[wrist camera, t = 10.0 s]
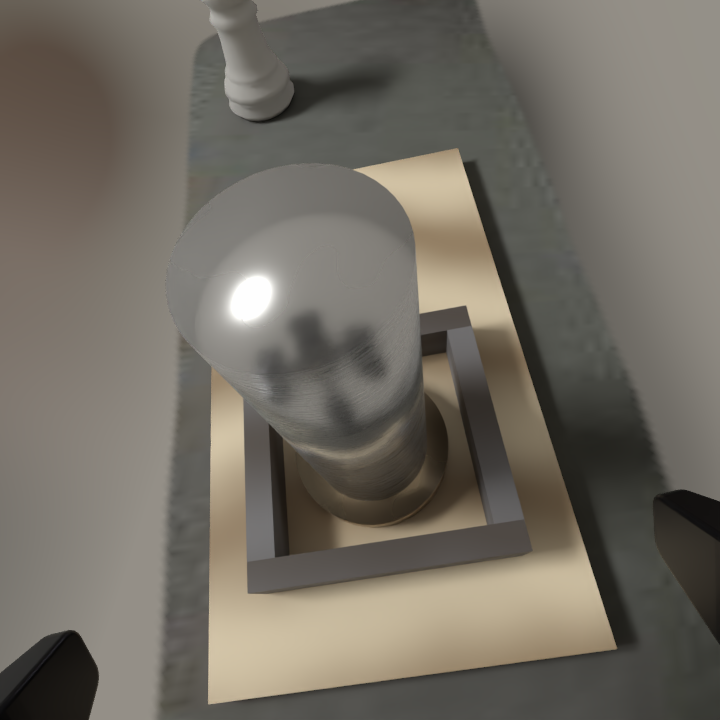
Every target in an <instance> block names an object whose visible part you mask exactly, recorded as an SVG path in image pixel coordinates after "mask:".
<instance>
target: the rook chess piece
mask: <svg viewBox="0 0 720 720" xmlns="http://www.w3.org/2000/svg"><path fill="white" fill-rule="evenodd" d="M201 1H202V2H203V3H205V4H206V5H207V6H208V7H209V9H210V12H211V14H210V23H211V24H212V25H213V26H214V27H215V28H216V29H217V32H218V34H219V37H220V40H221V44H222V48H223V52H224V56H225V60H226V68H225V76H226V78H225V80H224V81H225V93H226V95H227V97H228V98H229V103H230V108H231V109H232V111H233V112H234V113H235V114H236V115H238V116H240V117H242V118H244V119H246V120H249V121H264V120H269V119H272V118H274V117H276V116H278V115H280V114H281V113H282V112H283V111H284V110H285V109H286V108H287V107H288V106H289V104H290V101H291V99H292V96H293V94H294V86H293V83H292V82H291V81H290V77H289V71H288V69H287V67H286V66H285V65H284V64H283V63H282V62H281V61H280V60H279V59H278V57H277V55H276V54H275V53H274V52H273V51H271V49H270V48H269V46H268V44H267V42H266V39H265V37H264V35H263V33H262V30H261V28H260V26H259V23H258V20H257V16H256V13H257V5H256V4H255V3H254V2H253V1H252V0H201Z"/></svg>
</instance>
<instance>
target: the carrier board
mask: <svg viewBox="0 0 720 720" xmlns="http://www.w3.org/2000/svg"><path fill="white" fill-rule="evenodd" d="M354 170H355V171H357V172H360V173H363V174H365V175H366V176H368V177H370V178H372V179H374V180H376V181H377V182H378V183H380V184H381V185H383V186H384V187H385V188H386V189H388V190H389V191H390V192H391V193H392V194H393V195H394V196H395V197H396V199H397V200H398V201H399V203H400V204H401V205H402V207H403V208H404V210H405V212H406V214H407V216H408V218H409V220H410V223H411V226H412V229H413V233H414V239H415V247H416V263H417V280H418V297H419V314H420V331H421V347H422V364H423V381H424V392H425V393H426V394H427V395H428V396H429V397H430V398H431V399H432V401H433V402H434V403H435V405H436V406H437V408H438V409H439V411H440V413H441V415H442V417H443V420H444V423H445V426H446V429H447V435H448V459H447V467H446V471H445V475H444V478H443V481H442V483H441V485H440V487H439V489H438V491H437V493H436V494H435V496H434V497H433V498H432V500H431V501H430V502H429V503H428V504H427V505H426V506H425V507H424V508H423V509H422V510H421V511H419V512H418V513H417V514H415V515H414V516H412V517H411V518H409V519H407V520H405V521H403V522H400V523H398V524H395V525H391V526H386V527H377V528H371V527H361V526H356V525H353V524H350V523H347V522H344V521H342V520H340V519H338V518H336V517H335V516H334V515H332V514H331V513H329V512H328V511H326V510H325V509H324V508H322V507H321V506H320V505H319V504H318V503H317V502H316V501H315V500H314V499H313V498H312V496H311V495H310V494H309V493H308V491H307V490H306V488H305V486H304V485H303V482H302V480H301V478H300V476H299V472H298V469H297V465H296V458H295V449H294V448H293V447H292V446H291V445H290V444H289V443H288V442H287V441H286V440H285V439H284V438H283V437H282V436H281V435H280V434H279V433H278V432H277V431H276V430H275V429H274V428H273V427H272V426H271V425H270V424H269V423H268V422H267V421H266V420H265V419H264V418H263V417H262V416H261V415H260V414H259V413H258V412H257V411H256V410H255V409H254V408H253V407H252V406H251V405H250V404H249V403H248V402H247V401H246V400H245V399H244V398H243V397H242V396H241V395H240V394H239V393H238V392H237V391H236V390H235V389H234V388H233V387H232V386H231V385H230V384H229V383H228V382H227V381H226V380H225V379H224V378H223V377H222V376H221V375H220V374H219V373H218V372H217V371H216V370H215V369H214V368H213V367H212V383H211V482H210V581H209V681H208V704H214V703H222V702H229V701H236V700H244V699H251V698H259V697H266V696H273V695H281V694H288V693H296V692H303V691H310V690H318V689H325V688H333V687H340V686H347V685H355V684H362V683H370V682H377V681H384V680H392V679H399V678H407V677H414V676H421V675H429V674H436V673H444V672H451V671H458V670H466V669H473V668H481V667H488V666H496V665H503V664H510V663H518V662H525V661H533V660H540V659H547V658H555V657H562V656H570V655H577V654H584V653H592V652H599V651H607V650H614V649H617V647H616V644H615V641H614V637H613V634H612V631H611V628H610V625H609V622H608V619H607V615H606V612H605V609H604V606H603V603H602V600H601V597H600V593H599V590H598V587H597V584H596V581H595V578H594V575H593V571H592V568H591V565H590V562H589V559H588V556H587V553H586V549H585V546H584V543H583V540H582V537H581V534H580V531H579V527H578V524H577V521H576V518H575V515H574V512H573V509H572V505H571V502H570V499H569V496H568V493H567V490H566V487H565V483H564V480H563V477H562V474H561V471H560V468H559V465H558V461H557V458H556V455H555V452H554V449H553V446H552V443H551V439H550V436H549V433H548V430H547V427H546V424H545V421H544V417H543V414H542V411H541V408H540V405H539V402H538V399H537V396H536V392H535V389H534V386H533V383H532V380H531V377H530V374H529V370H528V367H527V364H526V361H525V358H524V355H523V352H522V348H521V345H520V342H519V339H518V336H517V333H516V330H515V326H514V323H513V320H512V317H511V314H510V311H509V308H508V304H507V301H506V298H505V295H504V292H503V289H502V286H501V282H500V279H499V276H498V273H497V270H496V267H495V264H494V260H493V257H492V254H491V251H490V248H489V245H488V242H487V238H486V235H485V232H484V229H483V226H482V223H481V220H480V216H479V213H478V210H477V207H476V204H475V201H474V198H473V194H472V191H471V188H470V185H469V182H468V179H467V176H466V172H465V169H464V166H463V163H462V160H461V157H460V154H459V150H458V148H456V149H451V150H446V151H442V152H437V153H432V154H427V155H422V156H417V157H412V158H407V159H403V160H398V161H393V162H388V163H383V164H378V165H373V166H368V167H364V168H359V169H354Z"/></svg>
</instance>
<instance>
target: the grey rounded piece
mask: <svg viewBox="0 0 720 720" xmlns="http://www.w3.org/2000/svg"><path fill="white" fill-rule="evenodd" d="M166 297H167V302H168V308H169V311H170V313H171V316H172V319H173V321H174V323H175V325H176V327H177V328H178V330H179V332H180V333H181V335H182V336H183V337H184V338H185V339H186V341H187V342H188V343H189V344H190V345H191V346H192V347H193V348H194V349H195V350H196V351H197V352H198V353H199V354H200V355H201V356H202V357H203V358H204V359H205V360H206V361H207V362H208V363H209V364H210V365H211V366H212V367H213V368H214V369H215V370H216V371H217V372H218V373H219V374H220V375H221V376H222V377H223V378H224V379H225V380H226V381H227V382H228V383H229V384H230V385H231V386H232V387H233V388H234V389H235V390H236V391H237V392H238V393H239V394H240V395H241V396H242V397H243V398H244V399H245V400H246V401H247V402H248V403H249V404H250V405H251V406H252V407H253V408H254V409H255V410H256V411H257V412H258V413H259V414H260V415H261V416H262V417H263V418H264V419H265V420H266V421H267V422H268V423H269V424H270V425H271V426H272V427H273V428H274V429H275V430H276V431H277V432H278V433H279V434H280V435H281V436H282V437H283V438H284V439H285V440H286V441H287V442H288V443H289V444H290V445H291V446H292V447H293V448H294V449H295V458H296V465H297V469H298V472H299V476H300V478H301V480H302V482H303V485H304V486H305V488H306V490H307V491H308V493H309V494H310V495H311V496H312V498H313V499H314V500H315V501H316V502H317V503H318V504H319V505H320V506H321V507H322V508H324V509H325V510H326V511H328V512H329V513H331V514H332V515H334V516H335V517H336V518H338V519H340V520H342V521H344V522H347V523H350V524H353V525H356V526H361V527H371V528H377V527H386V526H391V525H395V524H398V523H400V522H403V521H405V520H407V519H409V518H411V517H412V516H414V515H415V514H417V513H418V512H419V511H421V510H422V509H423V508H424V507H425V506H426V505H427V504H428V503H429V502H430V501H431V500H432V498H433V497H434V496H435V494H436V493H437V491H438V489H439V487H440V485H441V483H442V481H443V478H444V475H445V471H446V467H447V459H448V435H447V429H446V426H445V423H444V420H443V417H442V415H441V413H440V411H439V409H438V408H437V406H436V405H435V403H434V402H433V401H432V399H431V398H430V397H429V396H428V395H427V394H426V393H425V392H424V381H423V364H422V347H421V331H420V314H419V297H418V280H417V263H416V247H415V239H414V233H413V229H412V226H411V223H410V220H409V218H408V216H407V214H406V212H405V210H404V208H403V207H402V205H401V204H400V203H399V201H398V200H397V199H396V197H395V196H394V195H393V194H392V193H391V192H390V191H389V190H388V189H386V188H385V187H384V186H383V185H381V184H380V183H378V182H377V181H376V180H374V179H372V178H370V177H368V176H366V175H365V174H363V173H360V172H357V171H355V170H352V169H349V168H345V167H341V166H337V165H329V164H318V163H304V164H292V165H286V166H280V167H276V168H272V169H269V170H265V171H262V172H260V173H257V174H254V175H251V176H249V177H247V178H245V179H243V180H241V181H239V182H237V183H235V184H233V185H232V186H230V187H228V188H227V189H225V190H223V191H222V192H221V193H219V194H218V195H217V196H215V197H214V198H213V199H211V200H210V201H209V202H208V203H207V204H206V205H205V206H204V207H202V208H201V209H200V211H199V212H198V213H197V214H196V215H195V216H194V217H193V218H192V219H191V221H190V222H189V223H188V225H187V226H186V228H185V229H184V230H183V232H182V234H181V235H180V237H179V239H178V241H177V242H176V245H175V247H174V250H173V252H172V254H171V257H170V261H169V265H168V269H167V276H166Z"/></svg>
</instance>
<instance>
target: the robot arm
mask: <svg viewBox="0 0 720 720" xmlns="http://www.w3.org/2000/svg"><path fill="white" fill-rule="evenodd" d="M653 516H654V531H655V542H656V546H657V549H658V551H659V553H660V555H661V557H662V558H663V560H664V562H665V563H666V565H667V566H668V568H669V569H670V571H671V572H672V574H673V575H674V577H675V578H676V580H677V581H678V583H679V584H680V586H681V587H682V589H683V590H684V592H685V593H686V595H687V596H688V598H689V599H690V601H691V602H692V604H693V605H694V607H695V608H696V610H697V611H698V613H699V614H700V616H701V617H702V619H703V620H704V622H705V623H706V625H707V626H708V628H709V629H710V631H711V632H712V634H713V635H714V637H715V638H716V640H717V641H718V643H719V644H720V502H719V501H717V500H714V499H711V498H708V497H705V496H702V495H699V494H696V493H693V492H691V491H687V490H675V491H671V492H666V493H662V494H658V495H657V496H656V497H655V498H654V500H653ZM98 680H99V672H98V668H97V665H96V663H95V662H94V660H93V658H92V656H91V654H90V652H89V650H88V649H87V647H86V645H85V643H84V641H83V640H82V638H81V636H80V635H79V633H77V632H76V631H73V630H68V631H63V632H59V633H55V634H51V635H48V636H46V637H44V638H43V639H41V640H40V641H39V642H38V643H36V644H35V645H34V646H33V647H31V648H30V649H29V650H28V651H26V652H25V653H24V654H23V655H22V656H20V657H19V658H18V659H17V660H16V661H14V662H13V663H12V664H11V665H9V666H8V667H7V668H6V669H5V670H4V671H2V672H1V673H0V720H89V716H90V713H91V709H92V705H93V702H94V698H95V694H96V691H97V686H98Z"/></svg>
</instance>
